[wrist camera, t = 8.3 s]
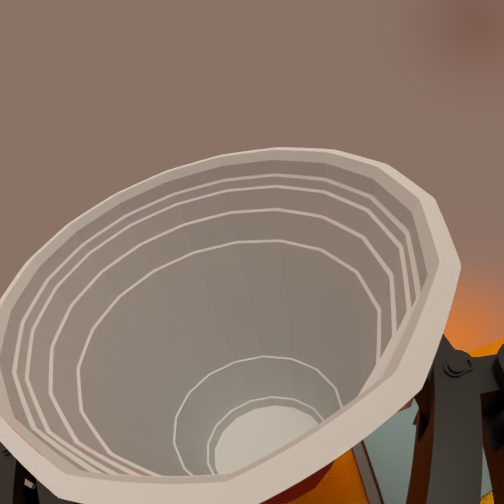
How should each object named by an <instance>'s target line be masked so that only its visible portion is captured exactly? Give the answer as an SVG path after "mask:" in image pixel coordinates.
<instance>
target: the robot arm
mask: <svg viewBox="0 0 504 504" xmlns="http://www.w3.org/2000/svg"><path fill="white" fill-rule="evenodd" d="M413 399H415V401H416V403H417V405H418V407H419V409H418V411H417V413H416V416H415V418H414V421H413V425H416V433H415V444H414V453H413V461H412V469H411V476H410V482H409V488H408V494H407V499H406V504H480V498H481V486H482V466H483V449H484V453H485V457H486V462H487V466H488V471H489V476H490V481H491V486H492V492H493V498H494V504H504V344H502V346H501V347H500V349H499V351H498V353H497V354H495V355H489V356H483V357H471V356H470V355H469V354H468V353H466V352H464V351H462V350H455V349H454V348H453V347H452V346H451V344H450V343H449V341H448V340H447V338H446V337H445V336H444V334H442V337H441V340H440V343H439V346H438V349H437V352H436V354H435V357H434V360H433V362H432V365H431V368H430V370H429V373H428V375H427V378H426V380H425V382H424V385H423V387H422V389H421V390H420V391H419V392H418V393H417V394H416V395H415V396H414V397H413V398H412V399H411V400H409V401H408V402H407V403H406V404H405V405H404V406H403V407H402V408H401V409H399V410H398V411H397V412H400V411H402V410H405V409H407V408H410V407H411V405H412V402H413ZM397 412H396V413H397ZM25 479H27V480H29V481H30V482H32V483H33V486H32V488H29V487H28V486H26V485H24V482H25ZM0 504H82V503H78V502H73V501H69V500H65V499H61V498H58V497H57V496H56V495H54V494H53V493H52V492H51V491H50V490H49V489H47V488H46V487H45V486H44V485H43V484H42V483H41V482H40V481H39V480H37V479H36V478H35V477H34V476H33V475H32V474H31V473H30V472H29V471H28V470H27V469H26V468H25V467H24V466H23V465H22V464H21V463H20V462H19V461H18V460H17V459H16V458H15V457H14V456H13V455H12V454H11V453H10V452H9V450H8V449H7V448H6V447H5V446H4V445H3V444H2V443H1V442H0Z"/></svg>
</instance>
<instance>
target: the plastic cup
mask: <svg viewBox="0 0 504 504" xmlns="http://www.w3.org/2000/svg"><path fill="white" fill-rule="evenodd" d="M460 269H461V264H460V261H459V258H458V255H457V252H456V250H455V247H454V244H453V242H452V239H451V236H450V234H449V231H448V229H447V226H446V224H445V221H444V219H443V217H442V214H441V212H440V210H439V208H438V205H437V203H436V201H435V199H434V198H433V197H432V196H430V195H429V194H428V193H427V192H425V191H424V190H423V189H421V188H420V187H419V186H417V185H416V184H414V183H413V182H412V181H410V180H409V179H407V178H406V177H405V176H403V175H402V174H401V173H399V172H398V171H396V170H395V169H394V168H392V167H391V166H389V165H388V164H384V163H381V162H377V161H374V160H371V159H367V158H363V157H360V156H357V155H353V154H349V153H345V152H342V151H338V150H332V149H315V148H314V149H313V148H287V147H286V148H284V147H276V148H268V149H259V150H252V151H245V152H237V153H231V154H224V155H219V156H215V157H212V158H208V159H205V160H202V161H198V162H194V163H191V164H187V165H184V166H181V167H177V168H174V169H171V170H167V171H165V172H162V173H160V174H158V175H156V176H153V177H151V178H148V179H147V180H144V181H142V182H140V183H137V184H135V185H133V186H131V187H129V188H126V189H124V190H122V191H120V192H118V193H116V194H114V195H112V196H111V197H109V198H107V199H106V200H104V201H103V202H101V203H99V204H98V205H96V206H95V207H93V208H91V209H90V210H88V211H87V212H85V213H84V214H82V215H81V216H79V217H78V218H76V219H75V220H73V221H72V222H70V223H69V224H67V225H66V226H65V227H64V228H63V229H61V230H60V231H59V232H58V233H57V234H56V235H55V236H54V237H53V238H51V239H50V240H49V241H48V242H47V243H46V244H45V245H44V246H43V247H42V248H41V249H40V250H39V251H37V252H36V253H35V254H34V255H33V256H32V257H31V258H30V259H29V260H28V261H27V262H26V263H25V264H24V266H23V267H22V269H21V270H20V271H19V273H18V274H17V276H16V277H15V278H14V280H13V281H12V283H11V284H10V286H9V287H8V289H7V290H6V291H5V293H4V294H3V296H2V298H1V299H0V442H1V443H2V444H3V445H4V446H5V447H6V448H7V449H8V450H9V452H10V453H11V454H12V455H13V456H14V457H15V458H16V459H17V460H18V461H19V462H20V463H21V464H22V465H23V466H24V467H25V468H26V469H27V470H28V471H29V472H30V473H31V474H32V475H33V476H34V477H35V478H36V479H37V480H39V481H40V482H41V483H42V484H43V485H44V486H45V487H46V488H47V489H49V490H50V491H51V492H52V493H53V494H54V495H56V496H57V497H58V498H61V499H65V500H69V501H73V502H78V503H82V504H282V503H288V502H291V501H293V500H295V499H296V498H298V497H300V496H302V495H304V494H305V493H307V492H309V491H310V490H312V489H314V488H315V487H316V486H317V485H318V483H319V482H320V481H321V479H322V478H323V477H324V476H325V474H326V473H327V472H328V470H329V469H330V468H331V466H332V464H333V462H334V461H335V459H336V458H338V457H339V456H341V455H342V454H344V453H345V452H346V451H348V450H349V449H351V448H352V447H353V446H355V445H356V444H357V443H359V442H360V441H361V440H363V439H364V438H365V437H367V436H368V435H369V434H370V433H372V432H373V431H374V430H376V429H377V428H378V427H379V426H381V425H382V424H383V423H384V422H385V421H387V420H388V419H389V418H390V417H391V416H392V415H394V414H395V413H396V412H397V411H398V410H399V409H401V408H402V407H403V406H404V405H405V404H406V403H407V402H408V401H409V400H411V399H412V398H413V397H414V396H415V395H416V394H417V393H418V392H419V391H420V390H421V389H422V387H423V385H424V382H425V380H426V378H427V375H428V373H429V370H430V368H431V365H432V362H433V360H434V357H435V354H436V352H437V349H438V346H439V343H440V340H441V337H442V334H443V331H444V328H445V325H446V322H447V318H448V315H449V312H450V308H451V305H452V301H453V297H454V294H455V290H456V286H457V282H458V278H459V273H460Z"/></svg>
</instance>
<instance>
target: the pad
mask: <svg viewBox="0 0 504 504" xmlns="http://www.w3.org/2000/svg"><path fill="white" fill-rule="evenodd" d="M418 409H419V407H418V405H417V403H416V401H415V399H413V402H412V405H411V407H410V408H407V409H405V410H402V411H400V412H397V413H395V414H394V415H392V416H391V417H390V418H389V419H388V420H387V421H385V422H384V423H383V424H382V425H381V426H379V427H378V428H377V429H376V430H374V431H373V432H372V433H370V434H369V435H368V436H367V437H365V438H364V439H363V440H362V443H363V446H364V449H365V451H366V454H367V457H368V460H369V463H370V466H371V469H372V472H373V475H374V478H375V481H376V484H377V487H378V490H379V493H380V496H381V499H382V503H383V504H406V499H407V494H408V488H409V482H410V476H411V469H412V461H413V453H414V444H415V433H416V425H413V421H414V418H415V416H416V413H417V411H418ZM490 491H492V486H491V481H490V476H489V471H488V466H487V462H486V457H485V453H484V449H483V466H482V486H481V497H483V496H484V495H486V494H487V493H489V492H490Z"/></svg>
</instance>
